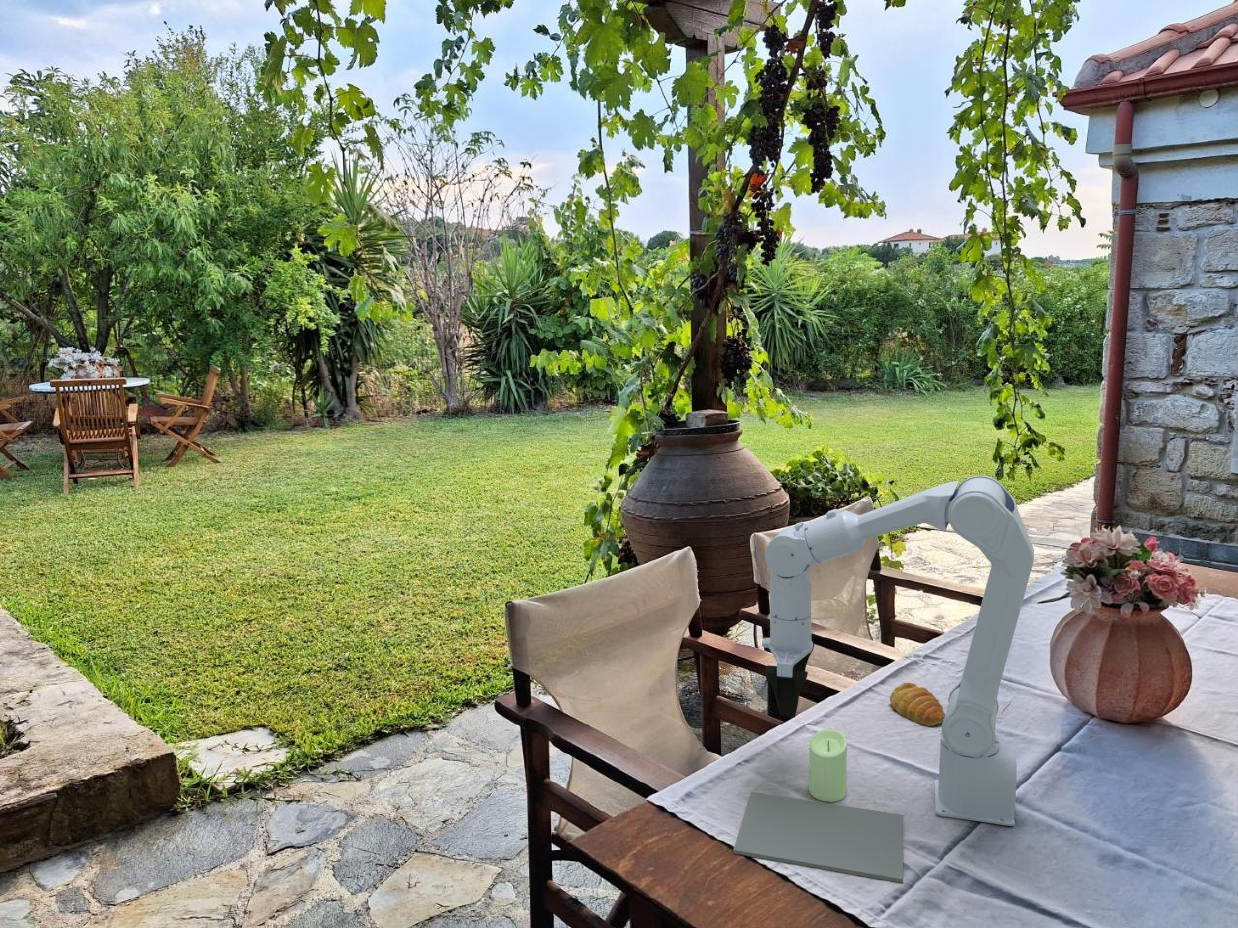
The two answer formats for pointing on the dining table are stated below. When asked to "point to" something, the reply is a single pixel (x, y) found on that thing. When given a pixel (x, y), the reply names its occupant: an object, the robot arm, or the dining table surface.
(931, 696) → the pastry
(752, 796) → the mat
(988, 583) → the robot arm
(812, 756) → the candle
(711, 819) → the dining table surface
